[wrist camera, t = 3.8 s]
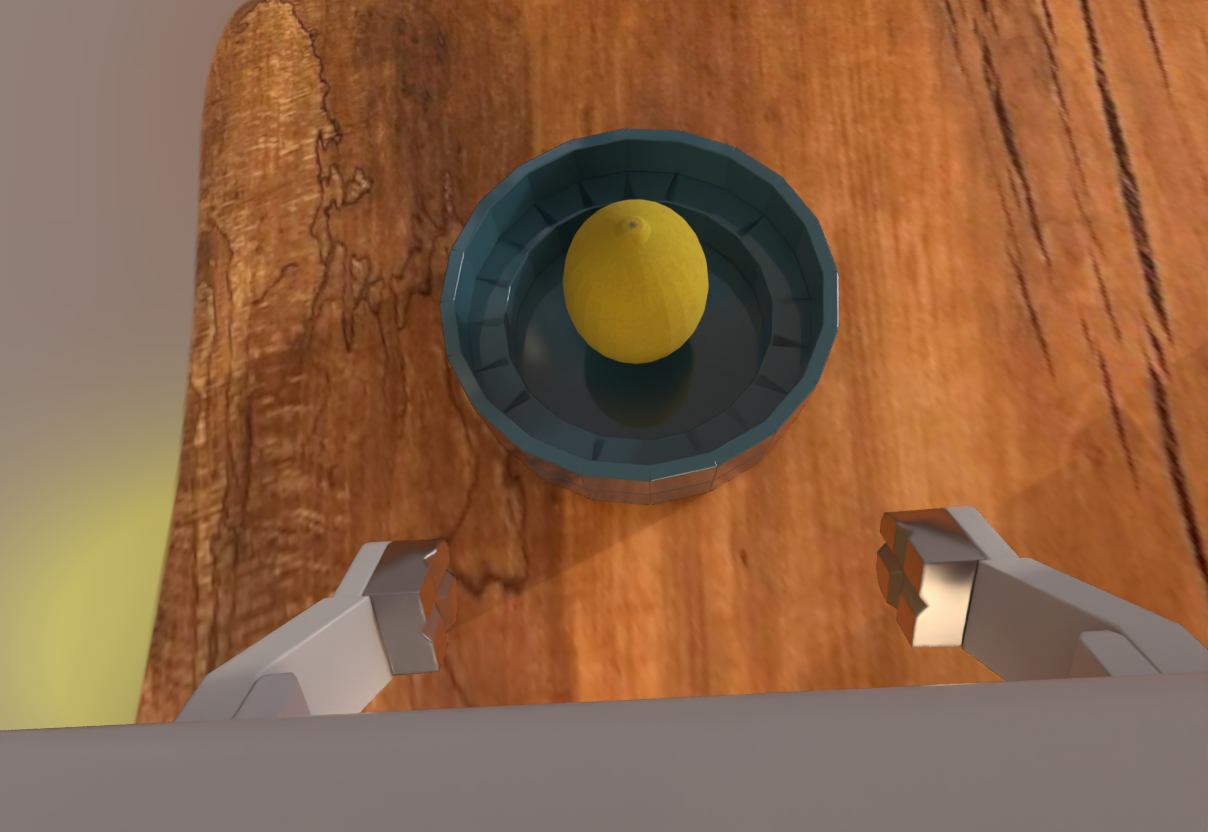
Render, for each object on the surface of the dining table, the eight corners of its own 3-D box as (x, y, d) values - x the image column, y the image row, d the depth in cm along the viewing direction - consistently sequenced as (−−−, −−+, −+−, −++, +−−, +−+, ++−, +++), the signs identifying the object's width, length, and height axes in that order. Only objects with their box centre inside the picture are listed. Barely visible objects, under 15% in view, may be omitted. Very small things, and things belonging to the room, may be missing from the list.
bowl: (624, 145, 33) (620, 72, 29) (882, 320, 29) (920, 264, 25) (402, 355, 30) (362, 308, 26) (656, 584, 26) (656, 572, 22)
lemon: (585, 402, 28) (561, 312, 21) (567, 290, 30) (538, 171, 23) (713, 379, 28) (735, 281, 21) (686, 268, 30) (698, 142, 23)
